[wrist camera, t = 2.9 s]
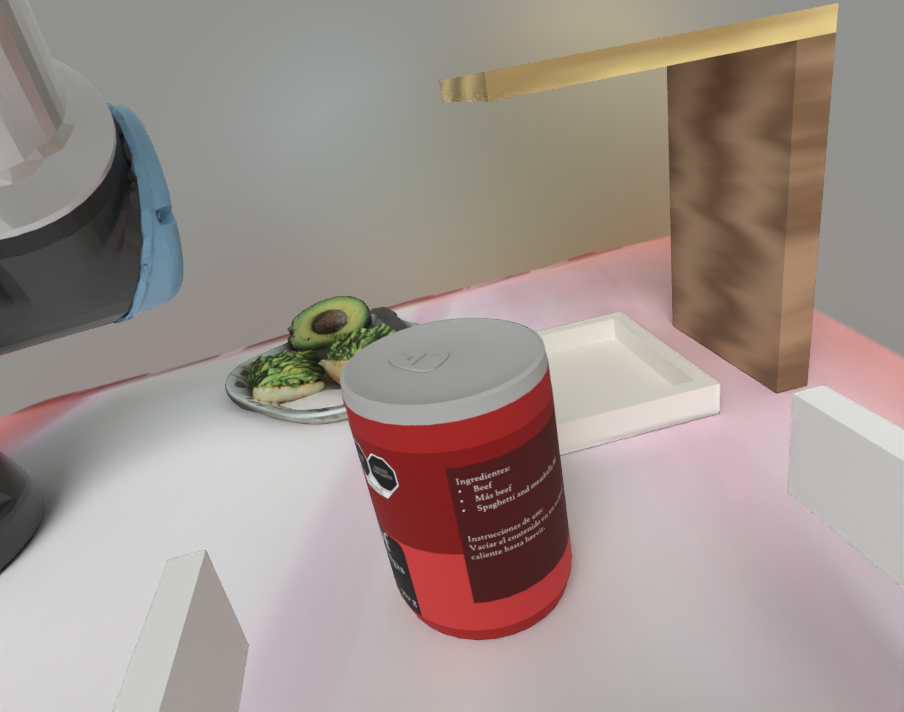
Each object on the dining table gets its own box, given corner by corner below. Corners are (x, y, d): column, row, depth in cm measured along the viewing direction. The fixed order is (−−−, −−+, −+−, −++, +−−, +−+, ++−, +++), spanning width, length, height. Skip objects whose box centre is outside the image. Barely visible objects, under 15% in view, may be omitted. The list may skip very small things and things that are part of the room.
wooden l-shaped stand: (807, 385, 36) (838, 3, 28) (537, 455, 34) (484, 72, 26) (696, 319, 47) (695, 31, 39) (488, 370, 45) (439, 80, 37)
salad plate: (517, 350, 49) (509, 297, 47) (347, 467, 38) (328, 403, 36) (366, 319, 61) (356, 277, 60) (207, 399, 50) (187, 350, 48)
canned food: (425, 513, 32) (379, 321, 27) (580, 518, 29) (557, 309, 25) (373, 637, 25) (299, 411, 20) (566, 656, 23) (532, 406, 18)
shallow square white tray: (719, 413, 35) (720, 383, 34) (506, 469, 34) (501, 439, 33) (621, 334, 47) (620, 311, 46) (460, 374, 45) (456, 350, 45)
